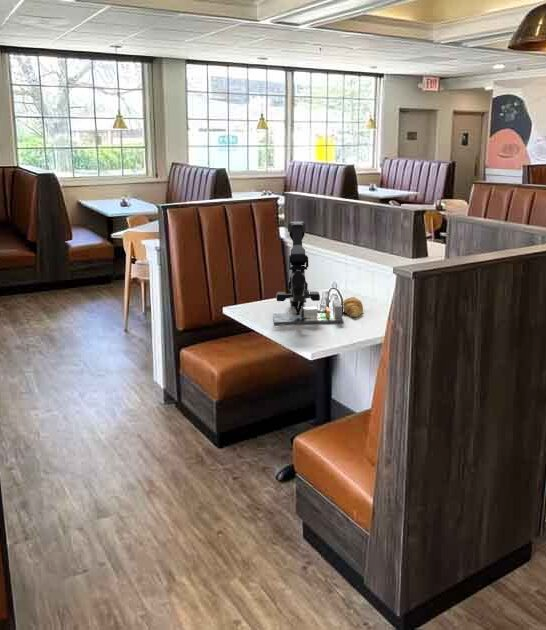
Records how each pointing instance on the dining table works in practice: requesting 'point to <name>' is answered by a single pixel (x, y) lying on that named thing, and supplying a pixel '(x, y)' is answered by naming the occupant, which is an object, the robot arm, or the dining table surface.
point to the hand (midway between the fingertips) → (297, 315)
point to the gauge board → (321, 319)
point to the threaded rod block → (311, 312)
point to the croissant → (353, 307)
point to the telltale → (327, 312)
